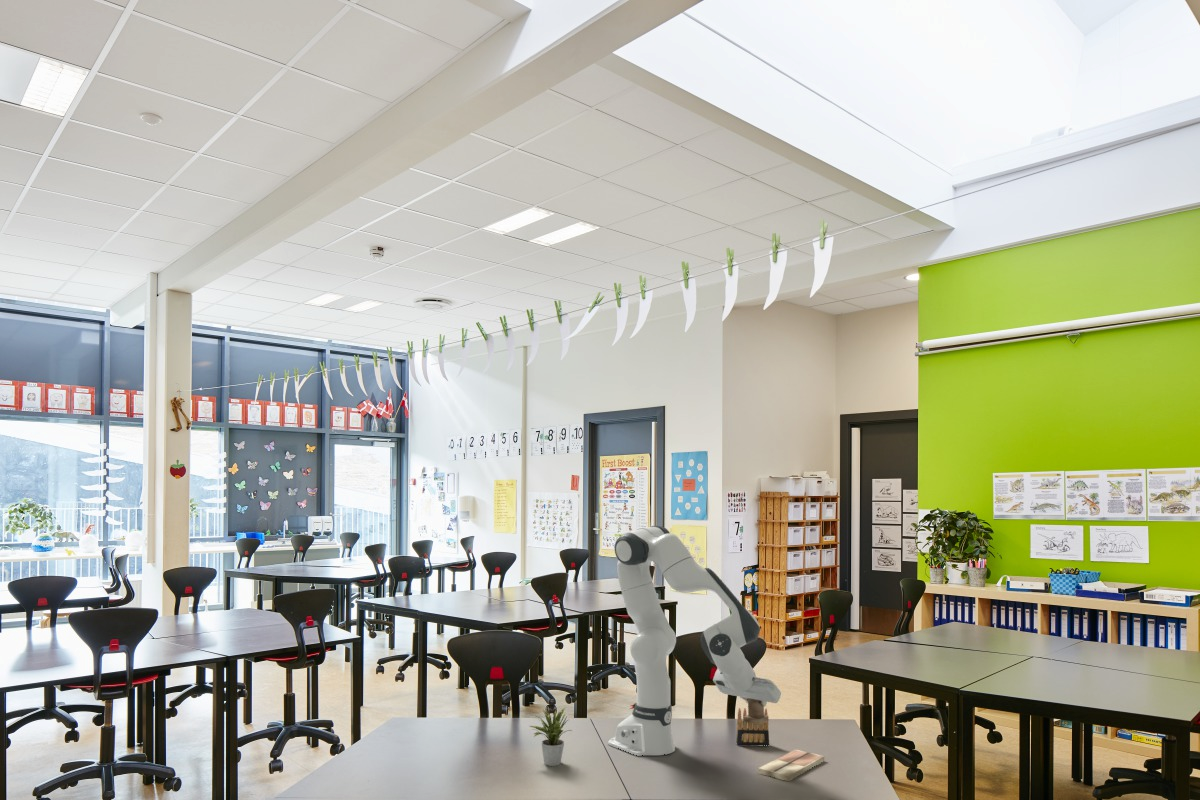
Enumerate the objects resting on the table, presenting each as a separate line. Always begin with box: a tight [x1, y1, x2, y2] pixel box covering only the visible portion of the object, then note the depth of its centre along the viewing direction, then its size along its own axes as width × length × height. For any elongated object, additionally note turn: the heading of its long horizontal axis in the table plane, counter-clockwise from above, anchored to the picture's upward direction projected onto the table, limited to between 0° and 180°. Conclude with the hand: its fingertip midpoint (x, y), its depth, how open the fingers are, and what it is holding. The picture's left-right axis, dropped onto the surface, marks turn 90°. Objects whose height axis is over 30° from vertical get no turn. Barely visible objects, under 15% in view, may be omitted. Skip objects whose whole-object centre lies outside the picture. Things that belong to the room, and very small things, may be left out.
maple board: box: [757, 748, 825, 782], centre depth 259 cm, size 10×24×2 cm, turn 140°
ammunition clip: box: [736, 707, 770, 747], centre depth 281 cm, size 11×2×12 cm, turn 89°
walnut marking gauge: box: [744, 698, 770, 725], centre depth 261 cm, size 6×6×11 cm
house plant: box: [529, 707, 573, 767], centre depth 262 cm, size 14×14×16 cm
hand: (757, 702), depth 262 cm, fingers closed on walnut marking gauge, 3 cm apart
